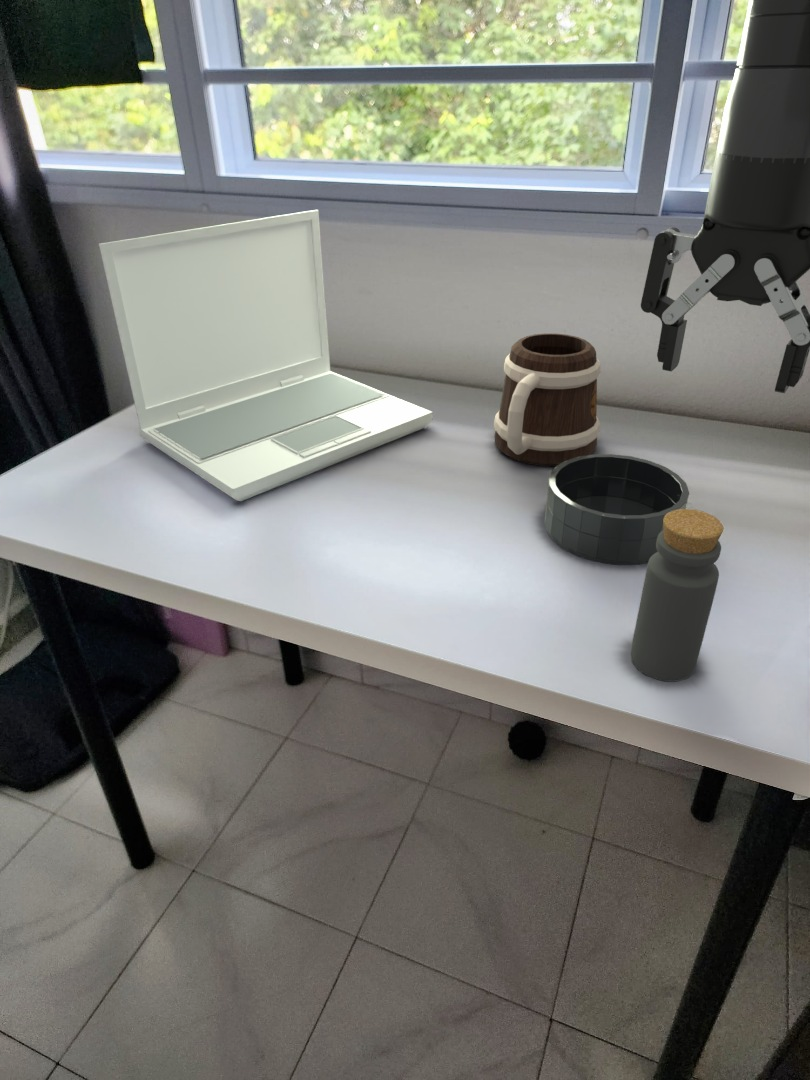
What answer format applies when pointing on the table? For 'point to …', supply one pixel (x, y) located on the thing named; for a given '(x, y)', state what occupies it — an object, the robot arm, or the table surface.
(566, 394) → the mug
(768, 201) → the robot arm
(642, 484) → the pot
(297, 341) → the laptop
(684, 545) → the bottle
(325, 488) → the table surface
